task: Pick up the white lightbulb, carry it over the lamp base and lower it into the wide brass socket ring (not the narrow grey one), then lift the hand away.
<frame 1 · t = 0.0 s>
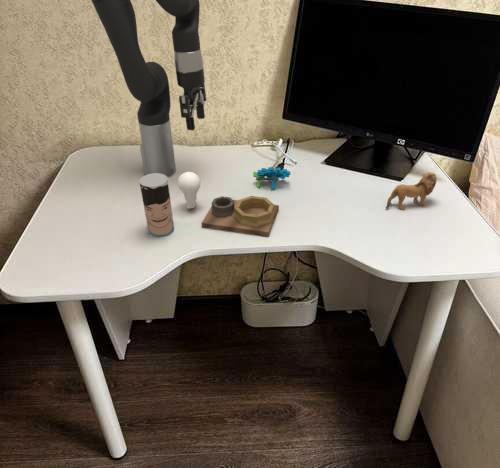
hand: (196, 123, 134), 17 cm above the table, tool pointing down, fingers open, 8 cm apart
lion figurine: (408, 204, 129), on the table
lightbulb: (191, 208, 129), on the table
face-printed can: (161, 230, 121), on the table
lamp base: (241, 218, 124), on the table
gear: (271, 185, 139), on the table
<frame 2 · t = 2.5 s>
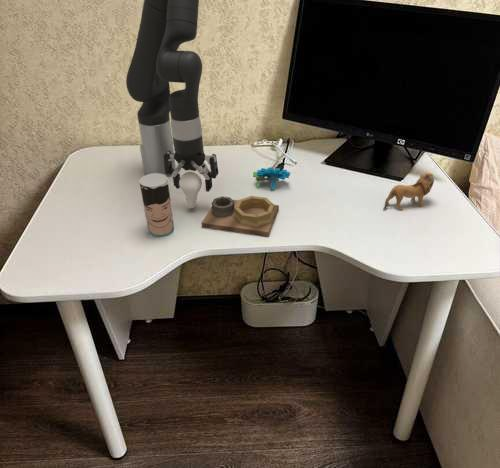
hand: (193, 188, 126), 6 cm above the table, tool pointing down, fingers open, 8 cm apart
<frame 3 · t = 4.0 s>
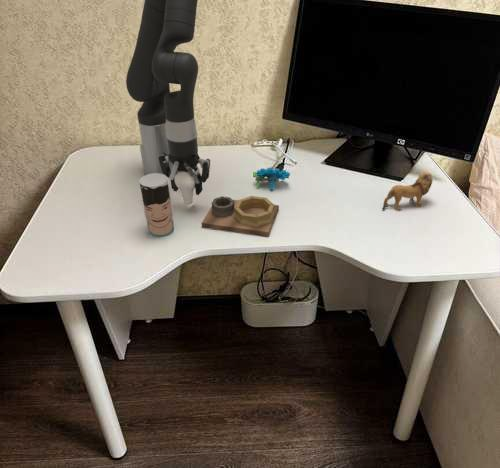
hand: (187, 191, 126), 5 cm above the table, tool pointing down, fingers closed on lightbulb, 6 cm apart
lightbulb: (188, 205, 128), point 1 cm above the table, touching gripper
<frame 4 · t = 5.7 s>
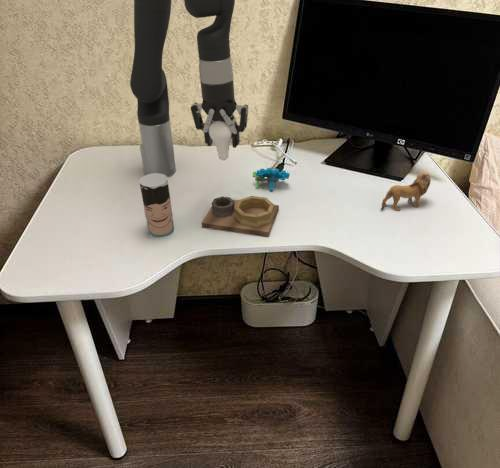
hand: (222, 145, 115), 20 cm above the table, tool pointing down, fingers closed on lightbulb, 6 cm apart
lightbulb: (223, 160, 117), point 16 cm above the table, touching gripper
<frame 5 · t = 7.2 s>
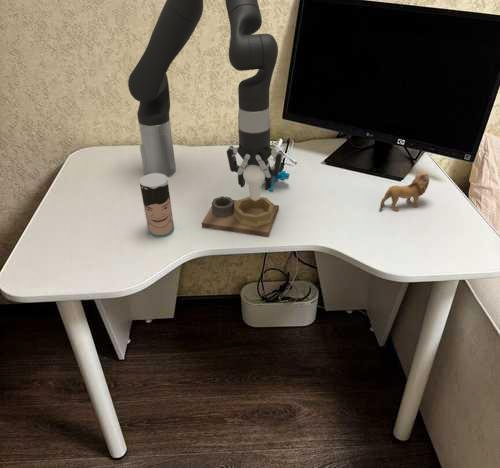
hand: (255, 187, 118), 10 cm above the table, tool pointing down, fingers closed on lightbulb, 6 cm apart
lightbulb: (255, 200, 120), point 6 cm above the table, touching gripper
when the fingers open (7 cm above the table, at t = 8.3 s): lightbulb drops 1 cm, resting on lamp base.
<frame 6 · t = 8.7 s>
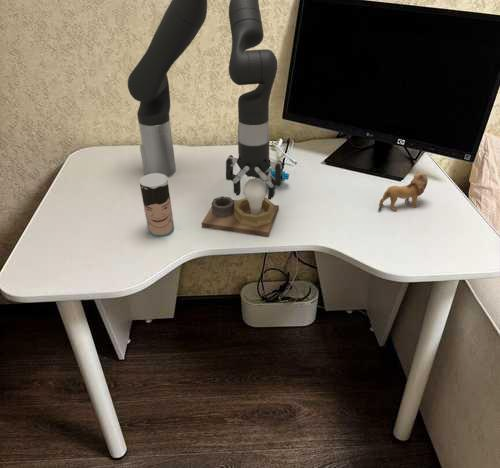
hand: (254, 196, 119), 8 cm above the table, tool pointing down, fingers open, 8 cm apart
lightbulb: (255, 216, 123), point 1 cm above the table, touching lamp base
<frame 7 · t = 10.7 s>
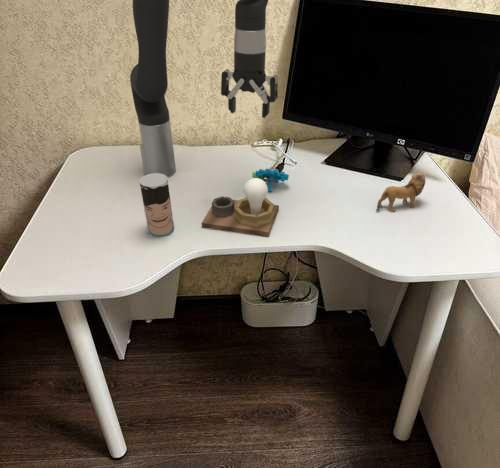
hand: (248, 114, 118), 25 cm above the table, tool pointing down, fingers open, 8 cm apart
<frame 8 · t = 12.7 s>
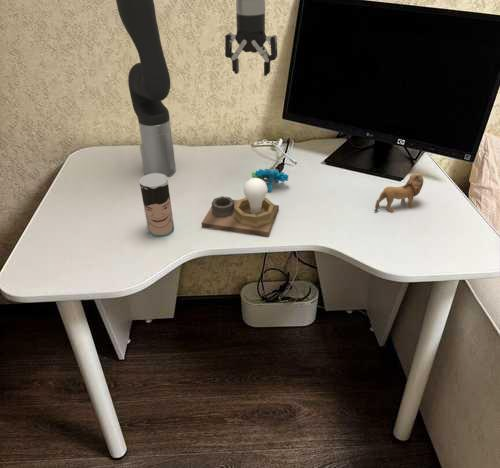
hand: (251, 74, 130), 30 cm above the table, tool pointing down, fingers open, 8 cm apart
at the end: lightbulb 0.3 cm from the target spot on the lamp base, point 1.3 cm above the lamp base's base; lightbulb tilted 1°; the gripper is holding nothing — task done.
